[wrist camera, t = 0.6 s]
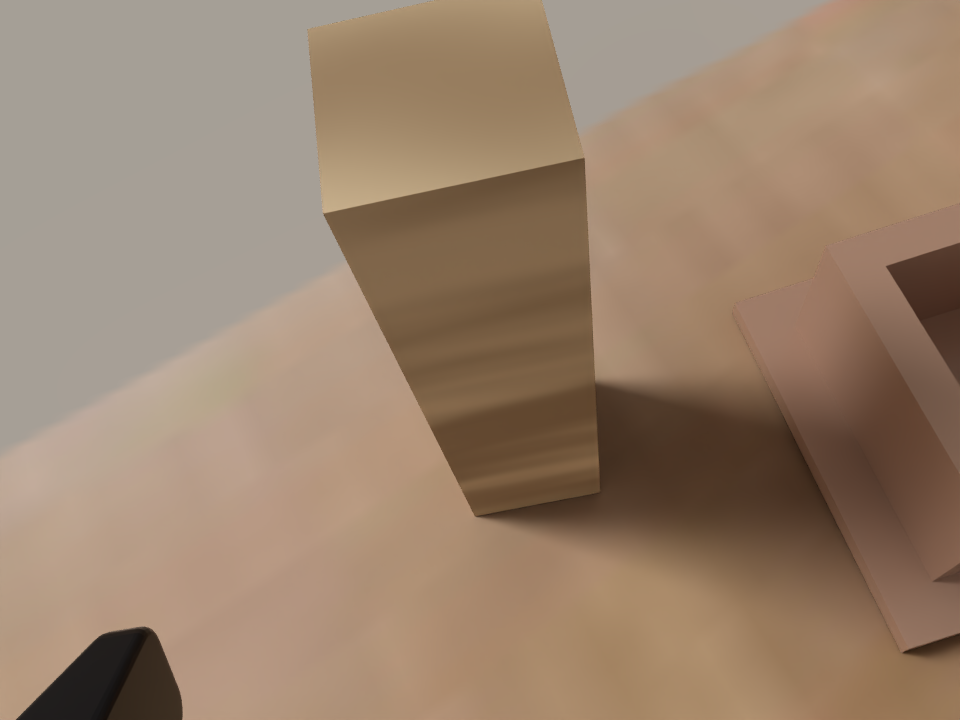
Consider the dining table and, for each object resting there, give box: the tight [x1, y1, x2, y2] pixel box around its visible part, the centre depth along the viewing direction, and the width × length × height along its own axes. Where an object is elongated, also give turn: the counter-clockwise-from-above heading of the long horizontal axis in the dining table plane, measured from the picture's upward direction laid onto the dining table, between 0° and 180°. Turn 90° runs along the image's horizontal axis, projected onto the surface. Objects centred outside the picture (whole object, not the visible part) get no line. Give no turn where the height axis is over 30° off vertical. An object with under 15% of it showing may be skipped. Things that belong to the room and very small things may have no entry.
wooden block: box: [308, 0, 600, 516], centre depth 18 cm, size 4×4×14 cm
